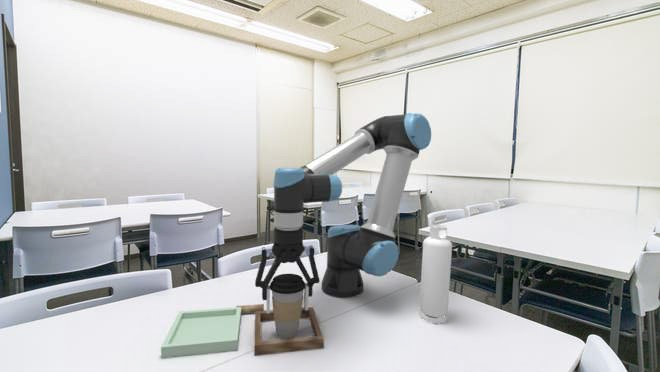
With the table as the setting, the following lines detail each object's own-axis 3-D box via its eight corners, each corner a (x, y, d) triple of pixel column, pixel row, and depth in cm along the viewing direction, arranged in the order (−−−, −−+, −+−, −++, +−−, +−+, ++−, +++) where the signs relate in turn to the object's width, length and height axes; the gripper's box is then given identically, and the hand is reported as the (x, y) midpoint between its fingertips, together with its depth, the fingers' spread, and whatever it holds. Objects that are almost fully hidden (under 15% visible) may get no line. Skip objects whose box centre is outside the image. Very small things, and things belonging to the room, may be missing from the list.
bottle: (436, 309, 101) (441, 222, 98) (453, 322, 93) (459, 228, 91) (413, 312, 99) (418, 223, 96) (429, 325, 91) (435, 229, 88)
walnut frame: (312, 314, 96) (312, 306, 95) (323, 348, 79) (323, 338, 79) (255, 319, 92) (255, 311, 92) (254, 355, 76) (254, 345, 75)
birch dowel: (263, 302, 97) (263, 308, 95) (263, 307, 98) (263, 314, 96) (236, 304, 96) (235, 310, 93) (236, 309, 97) (236, 316, 95)
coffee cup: (298, 345, 80) (299, 288, 79) (263, 340, 82) (263, 284, 80) (308, 326, 89) (309, 274, 88) (276, 321, 91) (277, 271, 90)
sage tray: (241, 315, 94) (241, 306, 94) (237, 350, 78) (237, 340, 77) (179, 320, 90) (179, 311, 90) (161, 357, 74) (161, 347, 74)
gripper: (326, 223, 89) (324, 300, 91) (245, 224, 84) (245, 306, 86) (333, 229, 81) (330, 312, 84) (243, 231, 77) (243, 320, 79)
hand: (287, 309), depth 85 cm, fingers closed on coffee cup, 9 cm apart
